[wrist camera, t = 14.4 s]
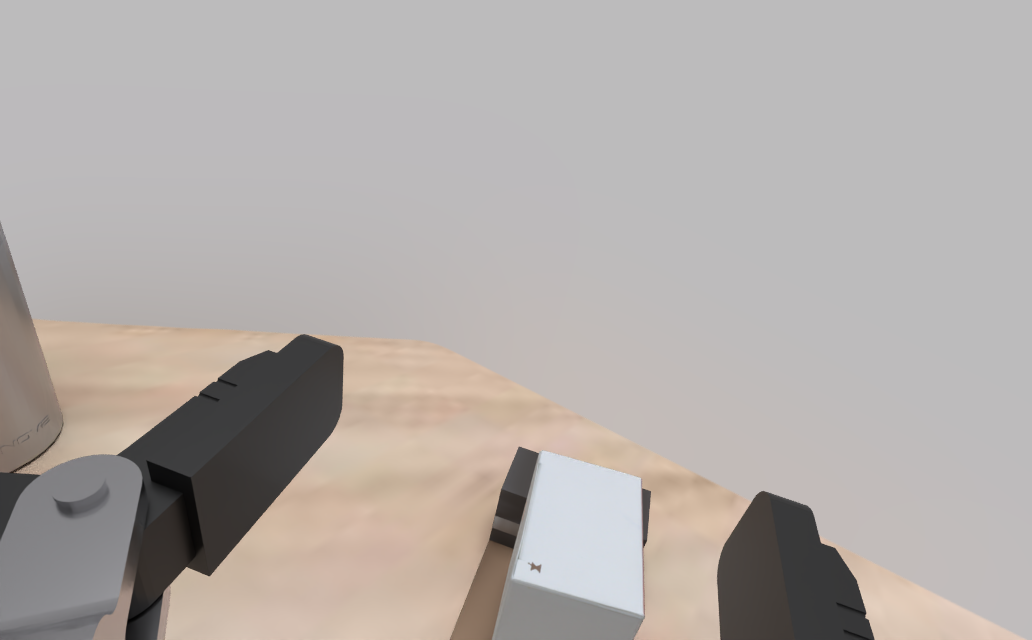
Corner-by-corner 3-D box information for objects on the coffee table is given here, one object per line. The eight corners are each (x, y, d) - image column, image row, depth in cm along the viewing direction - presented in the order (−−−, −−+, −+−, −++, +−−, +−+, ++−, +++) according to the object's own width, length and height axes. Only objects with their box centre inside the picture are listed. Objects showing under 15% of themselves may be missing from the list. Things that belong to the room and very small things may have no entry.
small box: (583, 746, 26) (648, 622, 21) (472, 710, 27) (508, 580, 21) (594, 596, 33) (645, 475, 28) (507, 569, 33) (540, 445, 28)
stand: (425, 708, 27) (437, 643, 24) (504, 504, 39) (519, 444, 36) (596, 782, 26) (632, 723, 23) (625, 548, 38) (651, 489, 35)
